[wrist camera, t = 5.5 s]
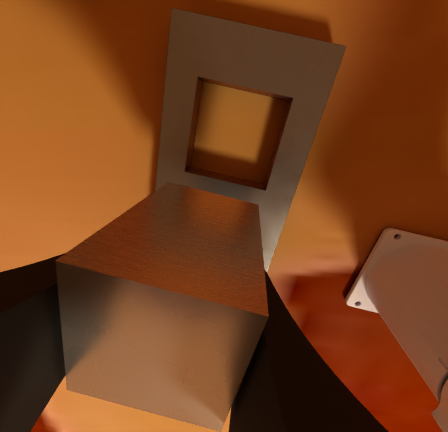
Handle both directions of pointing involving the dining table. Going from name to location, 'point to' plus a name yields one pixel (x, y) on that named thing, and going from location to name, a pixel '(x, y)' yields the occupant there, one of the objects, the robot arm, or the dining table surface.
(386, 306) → the robot arm
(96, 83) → the dining table surface
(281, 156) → the grey flat rectangular board
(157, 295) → the steel block
